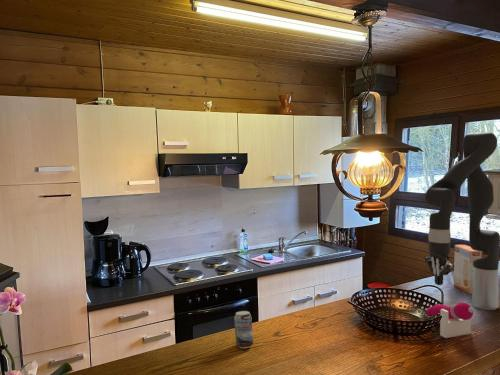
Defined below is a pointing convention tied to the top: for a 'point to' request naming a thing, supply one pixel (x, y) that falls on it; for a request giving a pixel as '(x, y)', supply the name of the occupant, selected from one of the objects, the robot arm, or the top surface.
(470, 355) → the top surface
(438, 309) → the pepper mill
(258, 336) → the top surface
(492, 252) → the robot arm
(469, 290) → the cracker box
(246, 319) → the beverage can
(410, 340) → the top surface
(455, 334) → the u rest
